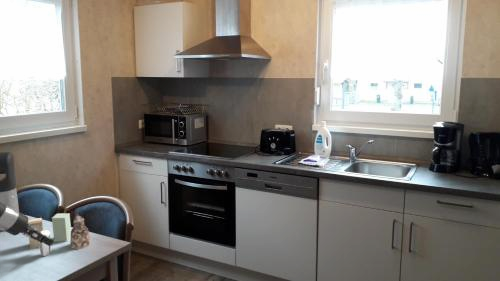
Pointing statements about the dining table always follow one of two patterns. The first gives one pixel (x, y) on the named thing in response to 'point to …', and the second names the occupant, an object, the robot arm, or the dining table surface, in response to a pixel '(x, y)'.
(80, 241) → the figurine
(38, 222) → the beech block
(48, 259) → the dining table surface
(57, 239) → the sage block
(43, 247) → the milkshake
